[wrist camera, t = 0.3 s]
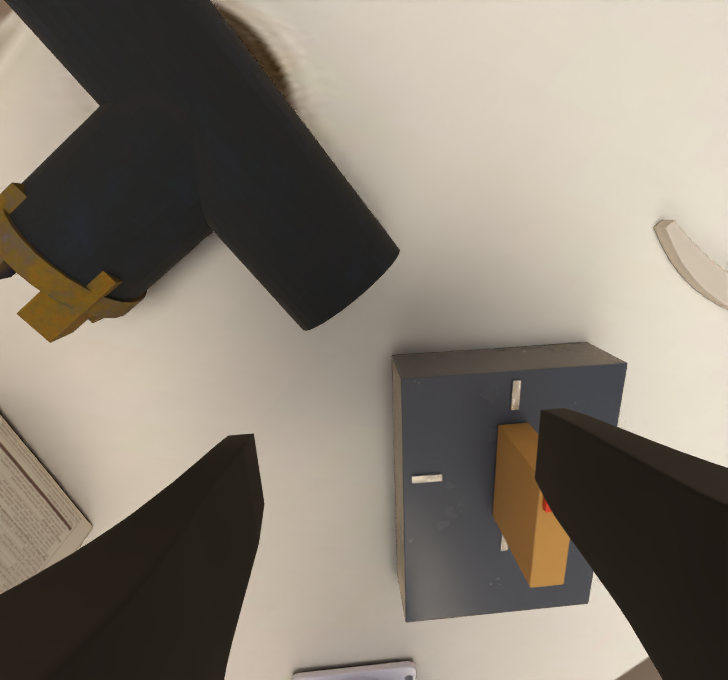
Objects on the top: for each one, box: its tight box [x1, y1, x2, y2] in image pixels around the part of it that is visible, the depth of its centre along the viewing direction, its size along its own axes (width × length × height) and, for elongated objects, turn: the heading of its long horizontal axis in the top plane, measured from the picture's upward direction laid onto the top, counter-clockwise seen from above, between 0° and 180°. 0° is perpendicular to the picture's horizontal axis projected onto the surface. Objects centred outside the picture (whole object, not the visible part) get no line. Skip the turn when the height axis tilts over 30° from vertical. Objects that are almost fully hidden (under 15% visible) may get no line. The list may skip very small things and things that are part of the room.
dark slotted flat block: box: [392, 342, 627, 622], centre depth 21 cm, size 14×10×3 cm
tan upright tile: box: [493, 423, 570, 588], centre depth 17 cm, size 5×1×4 cm, turn 3°
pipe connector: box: [0, 0, 400, 343], centre depth 15 cm, size 12×5×15 cm
